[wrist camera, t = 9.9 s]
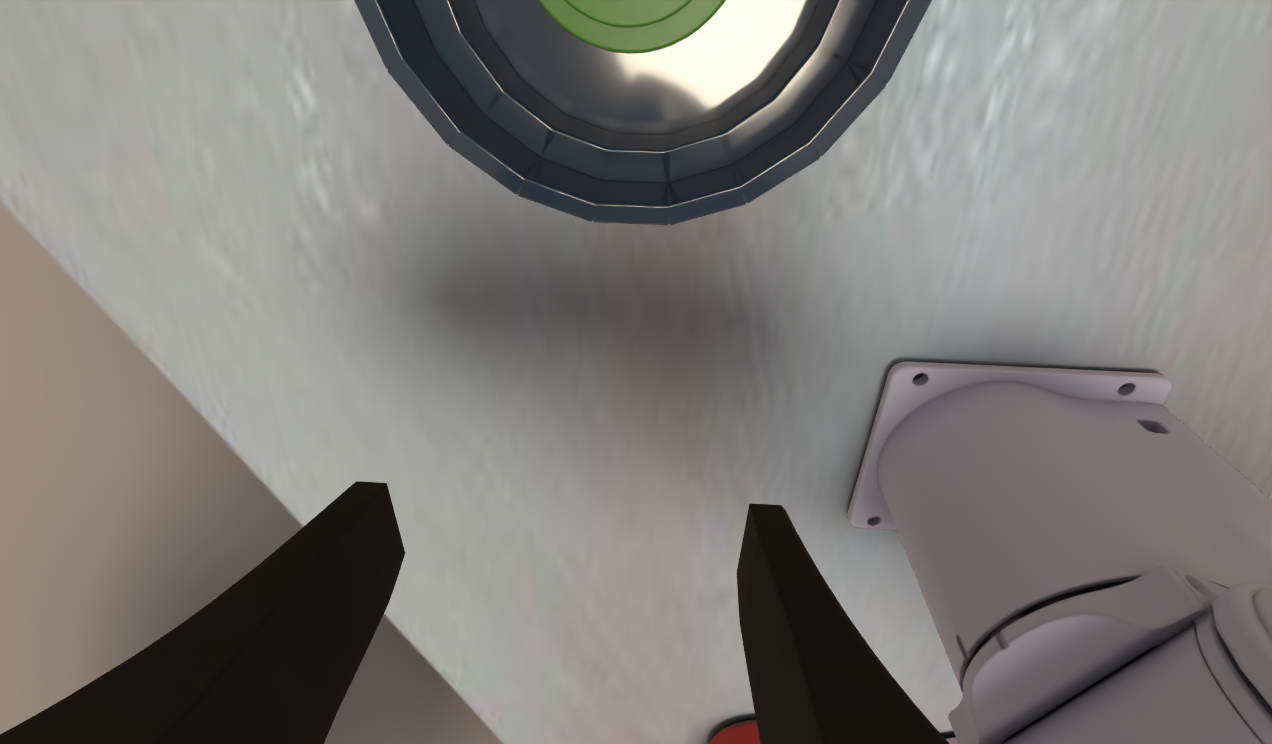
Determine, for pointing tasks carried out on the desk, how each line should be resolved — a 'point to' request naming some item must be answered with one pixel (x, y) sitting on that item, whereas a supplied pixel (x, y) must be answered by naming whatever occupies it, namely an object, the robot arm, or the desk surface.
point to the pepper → (631, 21)
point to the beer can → (738, 734)
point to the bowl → (642, 98)
